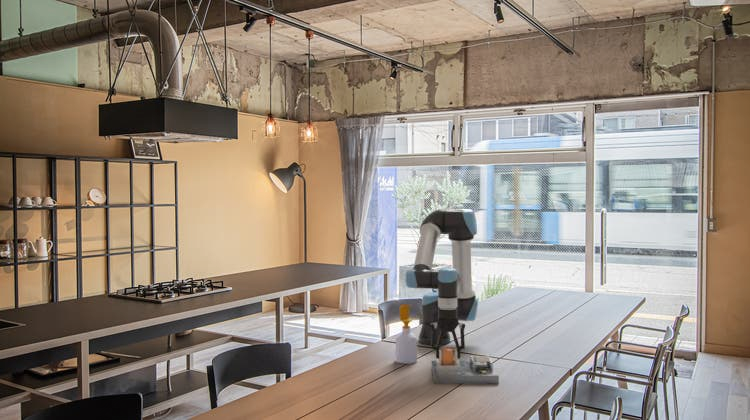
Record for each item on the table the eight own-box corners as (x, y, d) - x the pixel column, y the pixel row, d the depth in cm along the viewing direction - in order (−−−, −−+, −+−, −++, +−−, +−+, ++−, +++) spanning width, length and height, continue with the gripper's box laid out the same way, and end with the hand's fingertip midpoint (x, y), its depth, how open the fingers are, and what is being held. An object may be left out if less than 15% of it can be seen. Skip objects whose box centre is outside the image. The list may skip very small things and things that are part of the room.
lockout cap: (441, 365, 245) (441, 348, 244) (452, 365, 244) (452, 348, 244) (442, 369, 240) (441, 351, 240) (453, 369, 240) (453, 351, 240)
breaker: (473, 362, 246) (473, 356, 247) (486, 362, 246) (485, 356, 247) (476, 361, 238) (476, 355, 238) (489, 361, 237) (489, 355, 238)
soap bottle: (399, 365, 257) (399, 306, 256) (393, 359, 265) (392, 302, 264) (420, 363, 259) (419, 305, 258) (413, 357, 268) (412, 301, 267)
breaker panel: (431, 368, 252) (431, 352, 252) (490, 367, 251) (490, 352, 251) (434, 383, 232) (434, 367, 232) (498, 383, 231) (498, 367, 231)
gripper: (424, 309, 238) (424, 369, 239) (472, 309, 238) (473, 369, 238) (423, 306, 246) (423, 364, 246) (470, 306, 245) (470, 364, 246)
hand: (448, 366), depth 242 cm, fingers closed on breaker panel, 6 cm apart
